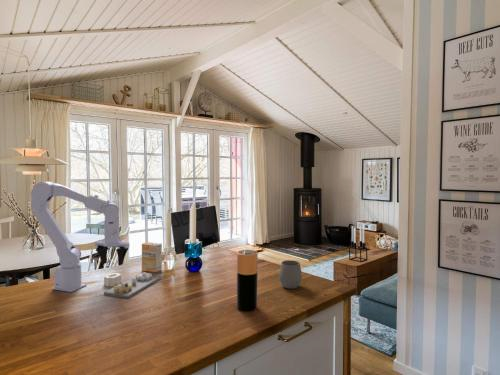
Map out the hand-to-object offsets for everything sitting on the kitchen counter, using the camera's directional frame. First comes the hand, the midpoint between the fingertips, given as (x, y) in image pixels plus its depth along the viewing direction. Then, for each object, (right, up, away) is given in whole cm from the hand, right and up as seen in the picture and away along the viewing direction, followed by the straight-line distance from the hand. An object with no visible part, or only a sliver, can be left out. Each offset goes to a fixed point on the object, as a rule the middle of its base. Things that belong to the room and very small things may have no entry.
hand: (112, 264), depth 135 cm
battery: (+56, -10, -22) cm, 61 cm away
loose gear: (0, -8, +1) cm, 8 cm away
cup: (+74, -9, -1) cm, 75 cm away
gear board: (+10, -9, -3) cm, 13 cm away
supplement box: (+11, -8, +18) cm, 22 cm away
